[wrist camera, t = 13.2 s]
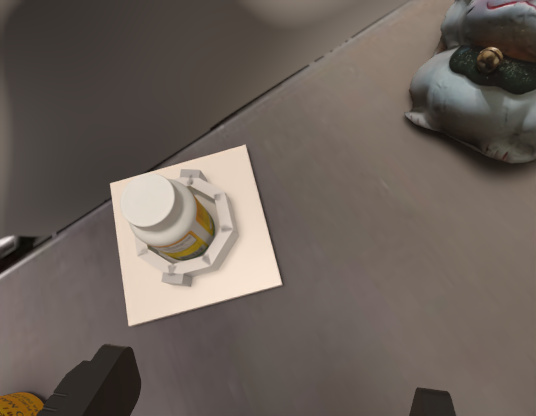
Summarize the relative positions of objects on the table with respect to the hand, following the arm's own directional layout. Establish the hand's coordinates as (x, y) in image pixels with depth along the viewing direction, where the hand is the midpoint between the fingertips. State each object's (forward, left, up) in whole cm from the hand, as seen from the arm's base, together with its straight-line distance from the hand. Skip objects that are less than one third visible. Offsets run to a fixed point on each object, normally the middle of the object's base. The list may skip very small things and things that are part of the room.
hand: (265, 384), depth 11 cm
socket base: (+7, -12, -23) cm, 27 cm away
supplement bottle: (+7, -12, -22) cm, 27 cm away
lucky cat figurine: (-23, -18, -23) cm, 37 cm away
